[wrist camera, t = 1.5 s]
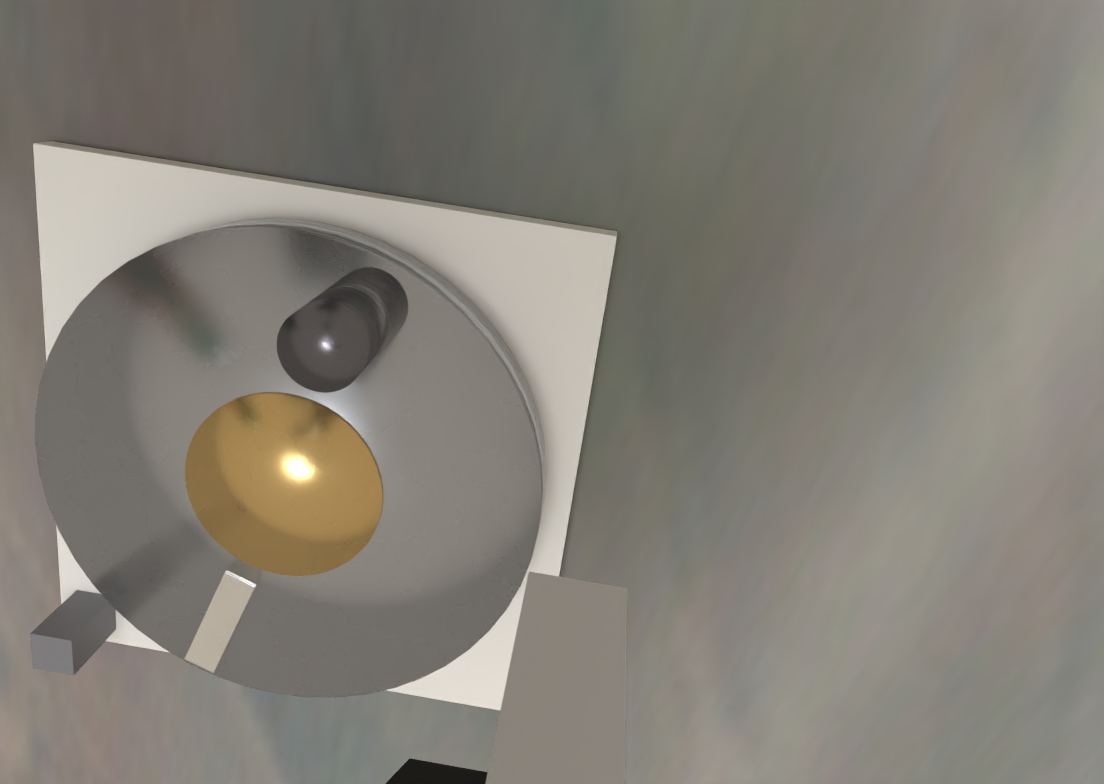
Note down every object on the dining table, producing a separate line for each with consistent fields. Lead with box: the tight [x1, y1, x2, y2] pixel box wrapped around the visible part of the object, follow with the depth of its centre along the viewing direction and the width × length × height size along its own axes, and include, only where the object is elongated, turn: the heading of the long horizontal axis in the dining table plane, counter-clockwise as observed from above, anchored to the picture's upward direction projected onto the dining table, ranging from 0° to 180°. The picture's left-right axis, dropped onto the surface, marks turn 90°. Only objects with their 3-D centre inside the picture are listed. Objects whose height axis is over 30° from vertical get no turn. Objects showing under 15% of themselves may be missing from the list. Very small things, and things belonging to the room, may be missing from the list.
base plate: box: [30, 141, 617, 710], centre depth 32 cm, size 20×20×4 cm
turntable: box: [35, 218, 547, 698], centre depth 30 cm, size 18×18×7 cm
